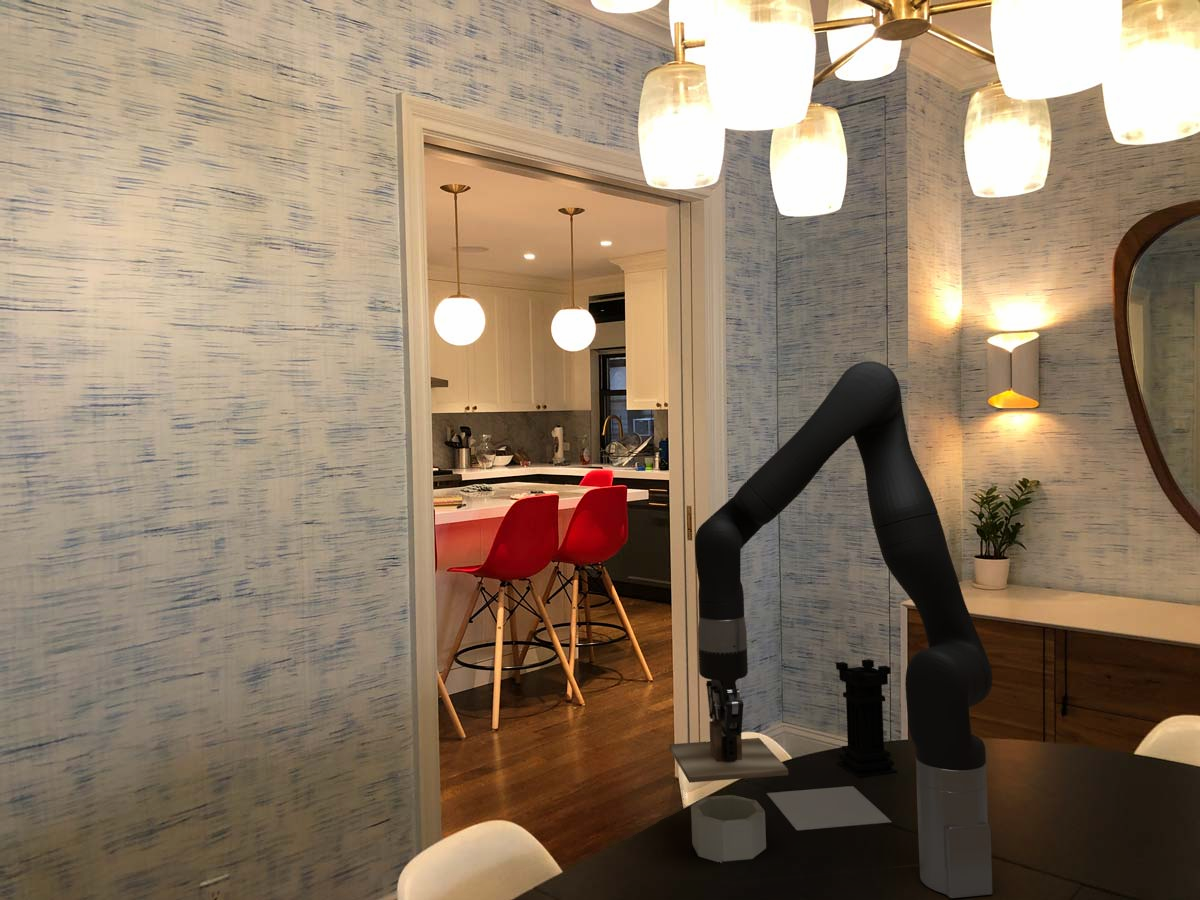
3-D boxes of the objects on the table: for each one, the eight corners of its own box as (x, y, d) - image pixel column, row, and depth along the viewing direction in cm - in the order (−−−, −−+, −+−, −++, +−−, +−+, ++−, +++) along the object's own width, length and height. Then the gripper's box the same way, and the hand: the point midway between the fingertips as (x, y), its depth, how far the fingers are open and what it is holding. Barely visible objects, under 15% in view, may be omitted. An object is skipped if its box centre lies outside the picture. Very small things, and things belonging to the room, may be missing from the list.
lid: (788, 775, 135) (787, 736, 135) (689, 782, 133) (687, 743, 133) (759, 742, 150) (758, 707, 150) (669, 749, 148) (668, 713, 148)
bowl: (772, 859, 137) (771, 819, 137) (703, 865, 135) (702, 825, 135) (752, 830, 147) (750, 793, 147) (688, 835, 146) (686, 798, 146)
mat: (892, 824, 148) (892, 821, 148) (796, 832, 146) (796, 830, 146) (852, 788, 163) (852, 786, 163) (766, 795, 161) (766, 793, 161)
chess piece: (859, 780, 167) (855, 671, 167) (836, 766, 175) (833, 662, 175) (897, 774, 169) (893, 667, 169) (873, 761, 177) (869, 658, 177)
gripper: (759, 653, 135) (762, 769, 135) (734, 634, 149) (737, 739, 149) (709, 656, 134) (713, 773, 134) (689, 637, 148) (692, 742, 148)
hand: (726, 754), depth 141 cm, fingers closed on lid, 4 cm apart
